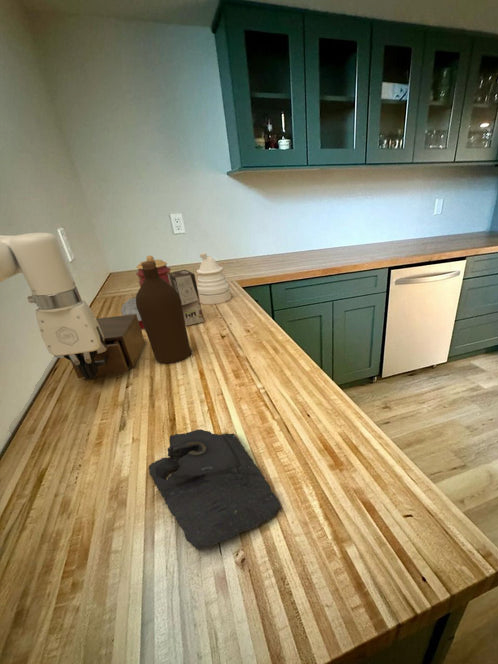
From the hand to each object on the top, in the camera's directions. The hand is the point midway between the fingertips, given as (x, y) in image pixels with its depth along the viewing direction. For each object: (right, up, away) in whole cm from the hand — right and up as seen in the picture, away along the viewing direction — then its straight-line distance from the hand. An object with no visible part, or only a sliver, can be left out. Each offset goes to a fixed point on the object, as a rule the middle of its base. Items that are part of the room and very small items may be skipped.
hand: (91, 376), depth 77 cm
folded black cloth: (+34, -17, -25) cm, 46 cm away
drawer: (-2, +3, +11) cm, 12 cm away
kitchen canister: (-9, +31, +61) cm, 69 cm away
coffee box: (+10, +19, +39) cm, 45 cm away
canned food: (-7, +17, +38) cm, 42 cm away
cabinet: (-3, +5, +16) cm, 17 cm away
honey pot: (+14, +31, +59) cm, 68 cm away
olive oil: (+13, +6, +15) cm, 21 cm away
